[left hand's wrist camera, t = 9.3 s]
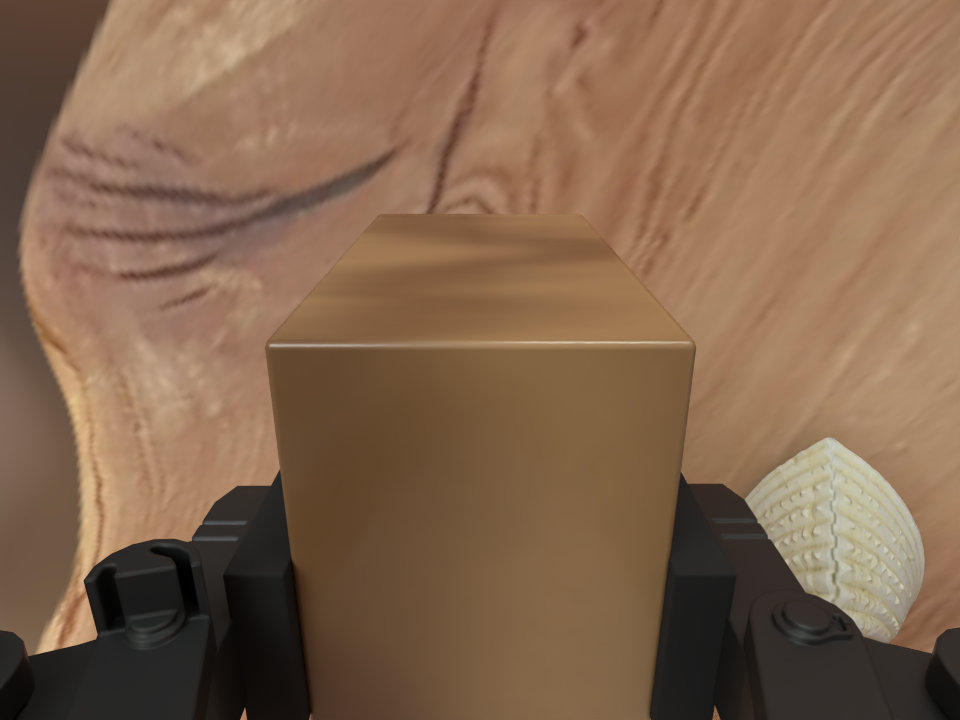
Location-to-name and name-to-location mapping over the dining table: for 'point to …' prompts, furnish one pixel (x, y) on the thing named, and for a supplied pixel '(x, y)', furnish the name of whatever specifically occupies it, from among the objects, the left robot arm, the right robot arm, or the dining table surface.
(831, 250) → the dining table surface
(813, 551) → the seashell
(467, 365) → the brick
